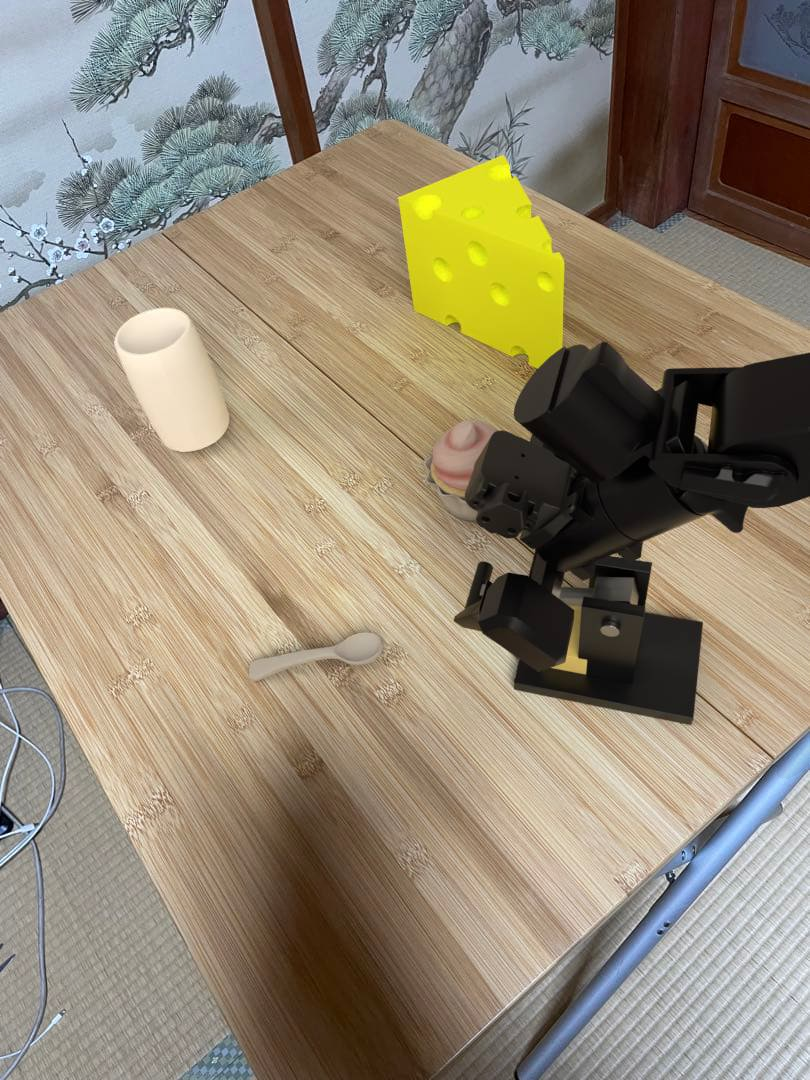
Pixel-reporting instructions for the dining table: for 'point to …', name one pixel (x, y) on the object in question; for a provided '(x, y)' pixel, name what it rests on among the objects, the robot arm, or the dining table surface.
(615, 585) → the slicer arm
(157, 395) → the cup
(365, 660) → the spoon
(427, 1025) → the dining table surface
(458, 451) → the cupcake
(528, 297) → the cheese wedge
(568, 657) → the butter
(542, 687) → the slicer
